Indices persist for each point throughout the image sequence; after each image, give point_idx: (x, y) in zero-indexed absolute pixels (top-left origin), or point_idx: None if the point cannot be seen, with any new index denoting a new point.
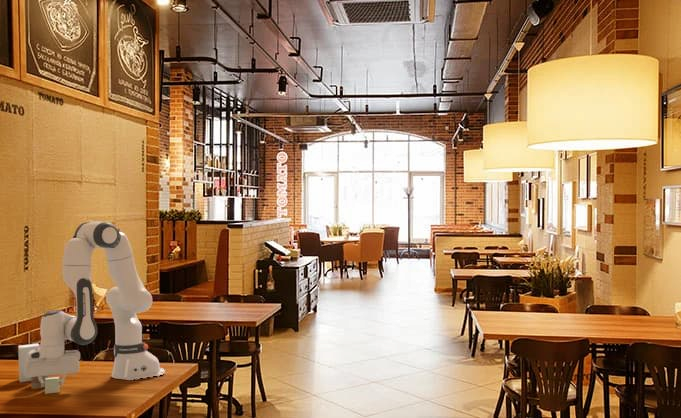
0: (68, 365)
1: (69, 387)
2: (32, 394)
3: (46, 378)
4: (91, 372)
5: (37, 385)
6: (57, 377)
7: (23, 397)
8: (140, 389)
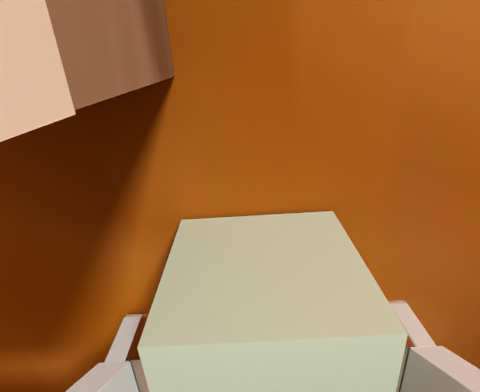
0: None
1: (457, 152)
2: (80, 316)
3: (163, 384)
4: None
5: None
6: (367, 369)
7: (33, 377)
8: None
